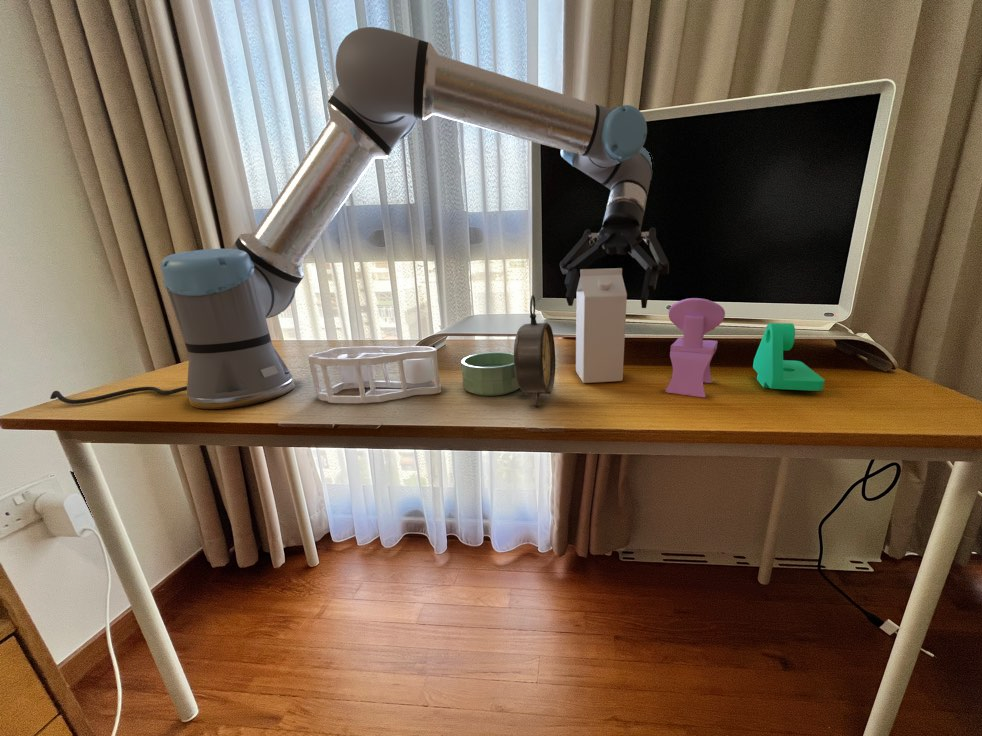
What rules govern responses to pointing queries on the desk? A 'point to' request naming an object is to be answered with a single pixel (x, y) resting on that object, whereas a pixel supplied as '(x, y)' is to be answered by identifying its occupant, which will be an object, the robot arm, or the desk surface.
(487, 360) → the bowl
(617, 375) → the milk carton
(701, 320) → the toy chair
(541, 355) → the alarm clock
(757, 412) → the desk surface
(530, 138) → the robot arm
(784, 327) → the camera mount
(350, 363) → the white wireframe cage
